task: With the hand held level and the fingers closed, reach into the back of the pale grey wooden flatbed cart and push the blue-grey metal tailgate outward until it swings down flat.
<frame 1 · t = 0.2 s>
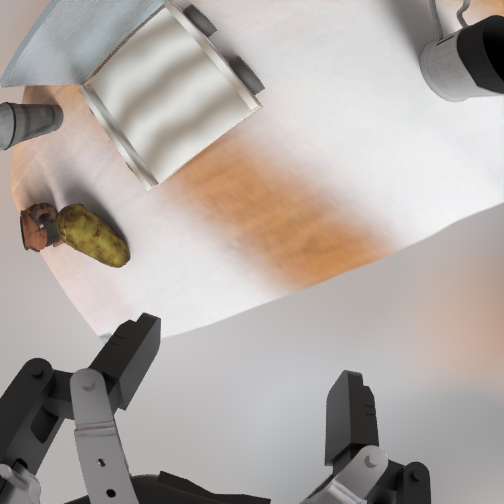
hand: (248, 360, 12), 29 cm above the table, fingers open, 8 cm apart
tailgate: (84, 28, 21), point 12 cm above the table, hinge at 0.0°
brown curved piece: (52, 218, 47), on the table
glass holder: (438, 52, 26), on the table
potato: (106, 228, 46), on the table
flatbed cart: (142, 48, 32), on the table
beverage cup: (55, 117, 39), on the table
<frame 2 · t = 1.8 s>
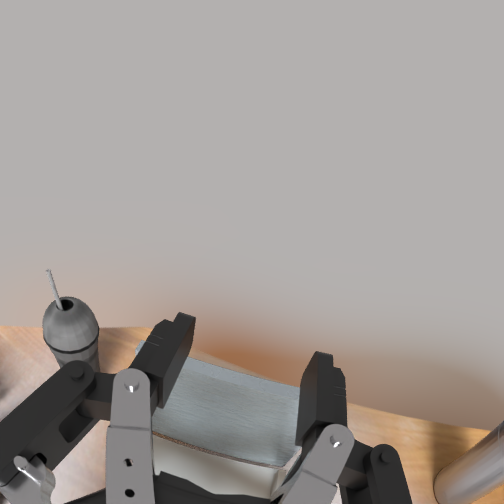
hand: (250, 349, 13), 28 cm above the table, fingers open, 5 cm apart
tailgate: (223, 417, 25), point 12 cm above the table, hinge at 0.0°
flatbed cart: (207, 465, 30), on the table
beverage cup: (86, 386, 35), on the table
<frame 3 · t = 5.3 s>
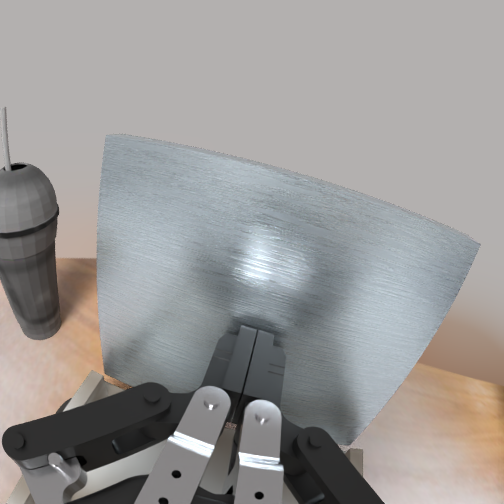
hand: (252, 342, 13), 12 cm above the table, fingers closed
tailgate: (256, 324, 14), point 12 cm above the table, hinge at 5.2°, touching gripper
flatbed cart: (214, 450, 18), on the table
beverage cup: (41, 324, 23), on the table
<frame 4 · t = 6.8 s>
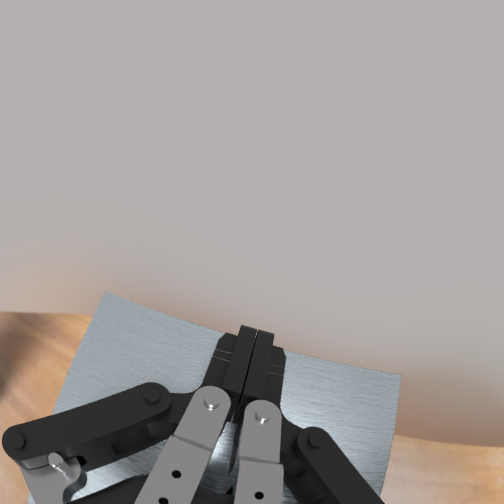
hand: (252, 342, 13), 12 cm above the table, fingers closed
tailgate: (212, 478, 11), point 8 cm above the table, hinge at 63.1°, touching gripper
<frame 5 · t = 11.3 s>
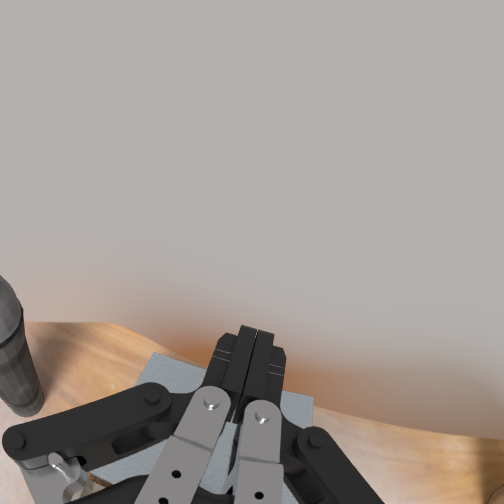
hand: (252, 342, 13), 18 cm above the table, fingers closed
tailgate: (214, 443, 21), point 4 cm above the table, hinge at 90.1°
beverage cup: (26, 400, 21), on the table
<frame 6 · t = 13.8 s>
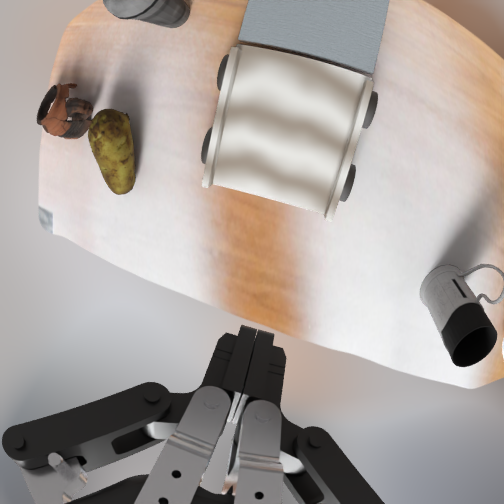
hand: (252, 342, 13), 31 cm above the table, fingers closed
tailgate: (318, 6, 26), point 4 cm above the table, hinge at 90.1°
brown curved piece: (80, 110, 40), on the table
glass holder: (449, 273, 42), on the table
potato: (127, 148, 42), on the table
flatbed cart: (305, 61, 33), on the table
beverage cup: (175, 15, 32), on the table
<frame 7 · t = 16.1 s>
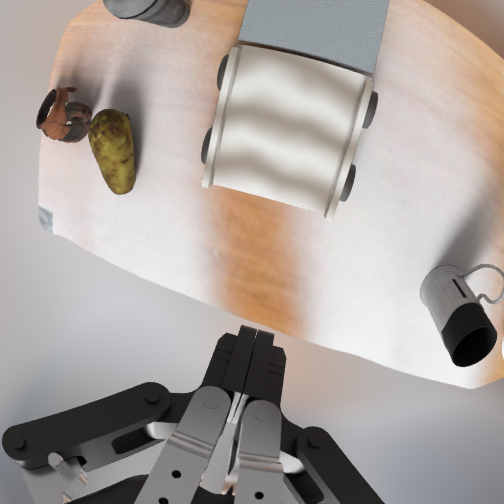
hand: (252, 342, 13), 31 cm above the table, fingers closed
tailgate: (318, 6, 26), point 4 cm above the table, hinge at 90.1°
brown curved piece: (79, 113, 40), on the table
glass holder: (449, 273, 42), on the table
potato: (127, 148, 42), on the table
flatbed cart: (305, 61, 33), on the table
beverage cup: (175, 15, 32), on the table
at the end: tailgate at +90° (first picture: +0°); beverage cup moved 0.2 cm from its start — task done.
